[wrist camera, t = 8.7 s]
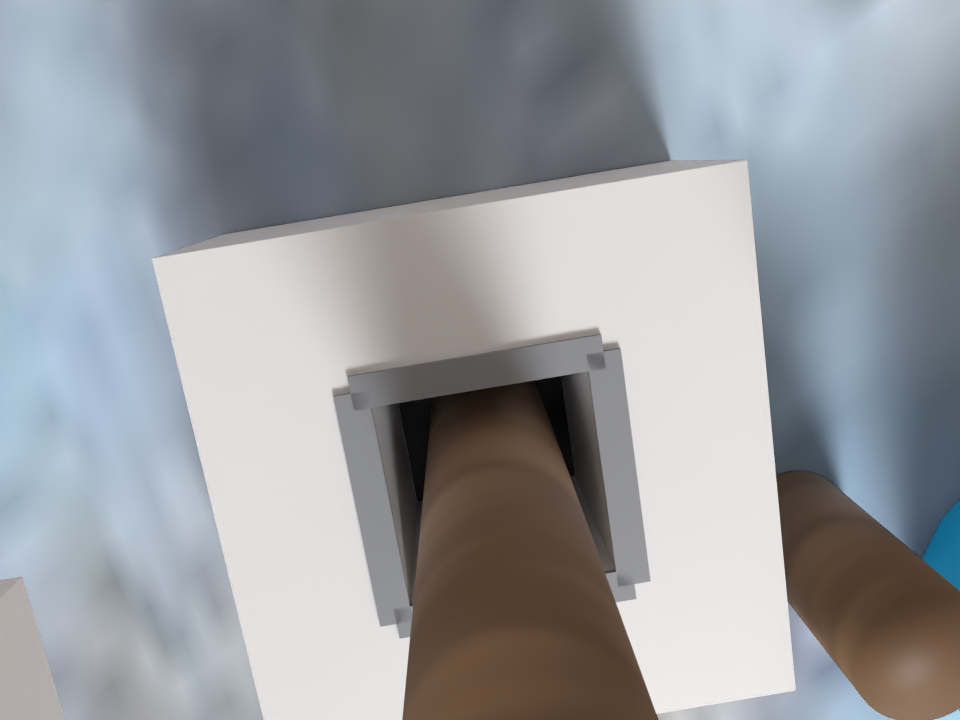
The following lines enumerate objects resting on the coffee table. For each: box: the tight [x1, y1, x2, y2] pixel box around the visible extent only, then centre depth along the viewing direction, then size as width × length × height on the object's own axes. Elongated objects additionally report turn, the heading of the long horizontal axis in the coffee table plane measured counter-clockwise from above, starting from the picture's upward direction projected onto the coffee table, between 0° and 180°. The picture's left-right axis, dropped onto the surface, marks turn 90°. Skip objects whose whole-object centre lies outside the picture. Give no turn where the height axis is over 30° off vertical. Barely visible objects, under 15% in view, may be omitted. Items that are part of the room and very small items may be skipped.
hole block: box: [152, 160, 796, 720], centre depth 18 cm, size 10×10×5 cm
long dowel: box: [402, 381, 658, 720], centre depth 13 cm, size 3×3×15 cm
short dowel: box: [776, 471, 960, 720], centre depth 19 cm, size 3×3×6 cm
